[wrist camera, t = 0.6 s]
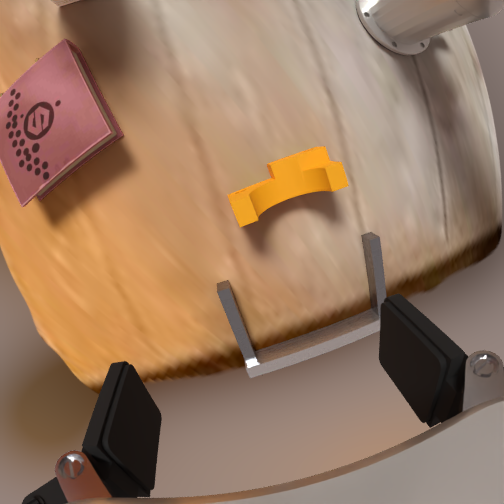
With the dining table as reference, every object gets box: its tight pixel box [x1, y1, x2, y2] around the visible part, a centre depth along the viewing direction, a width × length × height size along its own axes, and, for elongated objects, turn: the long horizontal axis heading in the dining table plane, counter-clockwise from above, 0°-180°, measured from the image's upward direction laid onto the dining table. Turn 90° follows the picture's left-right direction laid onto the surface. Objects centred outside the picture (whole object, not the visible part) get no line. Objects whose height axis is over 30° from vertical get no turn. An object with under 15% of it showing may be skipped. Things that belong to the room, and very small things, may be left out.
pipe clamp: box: [228, 146, 349, 227], centre depth 32 cm, size 12×4×6 cm, turn 111°
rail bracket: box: [217, 232, 386, 378], centre depth 39 cm, size 22×14×3 cm, turn 107°
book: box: [0, 39, 123, 207], centre depth 26 cm, size 14×15×5 cm
